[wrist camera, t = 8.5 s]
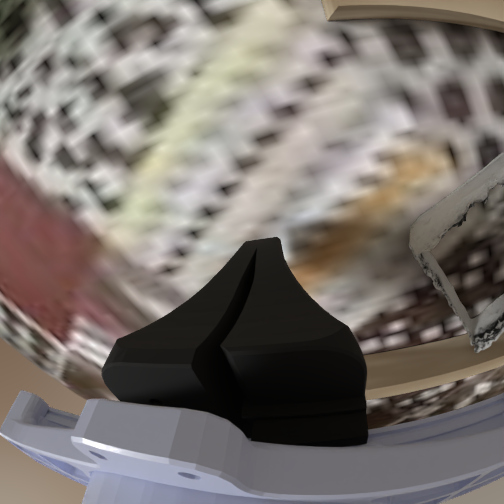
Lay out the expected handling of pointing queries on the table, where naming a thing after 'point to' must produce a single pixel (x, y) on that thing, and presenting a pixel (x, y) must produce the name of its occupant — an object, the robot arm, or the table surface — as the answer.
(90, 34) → the table surface
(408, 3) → the frame
